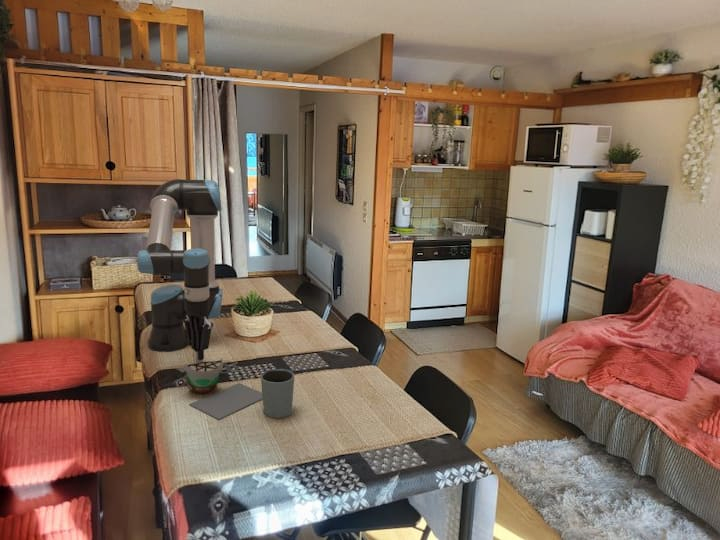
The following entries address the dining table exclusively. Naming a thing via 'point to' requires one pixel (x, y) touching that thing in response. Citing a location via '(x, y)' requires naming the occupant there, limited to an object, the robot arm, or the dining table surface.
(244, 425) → the dining table surface
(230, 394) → the mat
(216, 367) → the food container
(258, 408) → the dining table surface
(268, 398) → the grey green cup
